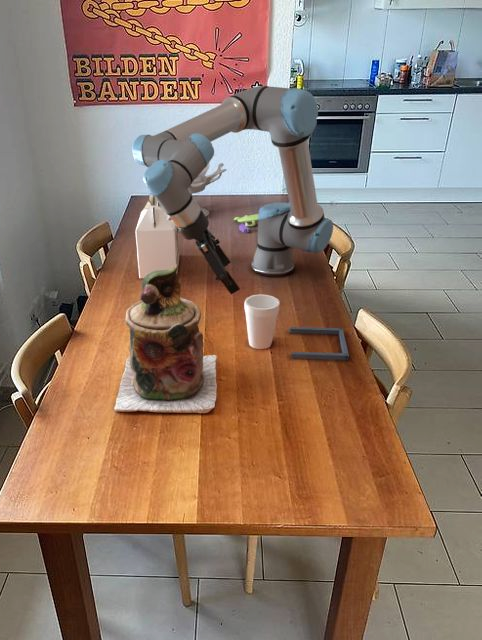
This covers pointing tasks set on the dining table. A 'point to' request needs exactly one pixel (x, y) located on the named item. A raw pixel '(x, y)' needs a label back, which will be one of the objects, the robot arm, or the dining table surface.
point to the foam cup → (261, 319)
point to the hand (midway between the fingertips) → (230, 277)
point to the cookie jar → (166, 352)
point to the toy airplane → (247, 222)
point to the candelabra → (205, 182)
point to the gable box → (156, 240)
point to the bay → (321, 356)
